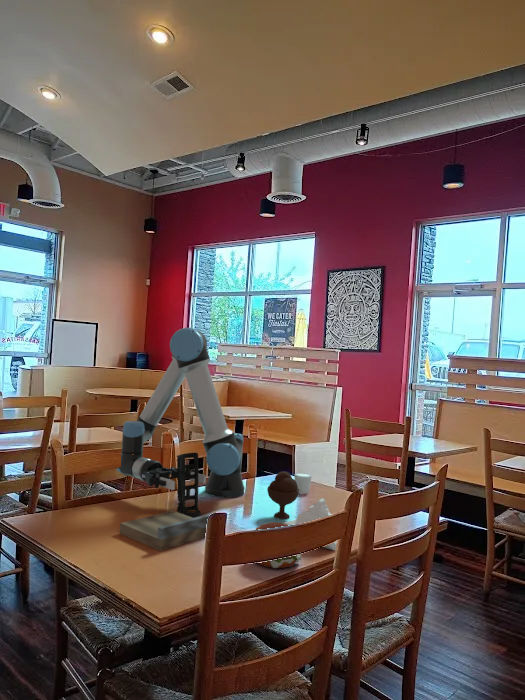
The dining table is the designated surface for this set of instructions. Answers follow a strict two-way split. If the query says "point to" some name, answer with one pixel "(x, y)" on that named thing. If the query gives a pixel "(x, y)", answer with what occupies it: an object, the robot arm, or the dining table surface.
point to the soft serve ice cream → (314, 517)
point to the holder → (181, 485)
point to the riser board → (165, 529)
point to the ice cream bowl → (283, 492)
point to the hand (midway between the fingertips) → (189, 482)
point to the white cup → (303, 482)
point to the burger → (284, 561)
